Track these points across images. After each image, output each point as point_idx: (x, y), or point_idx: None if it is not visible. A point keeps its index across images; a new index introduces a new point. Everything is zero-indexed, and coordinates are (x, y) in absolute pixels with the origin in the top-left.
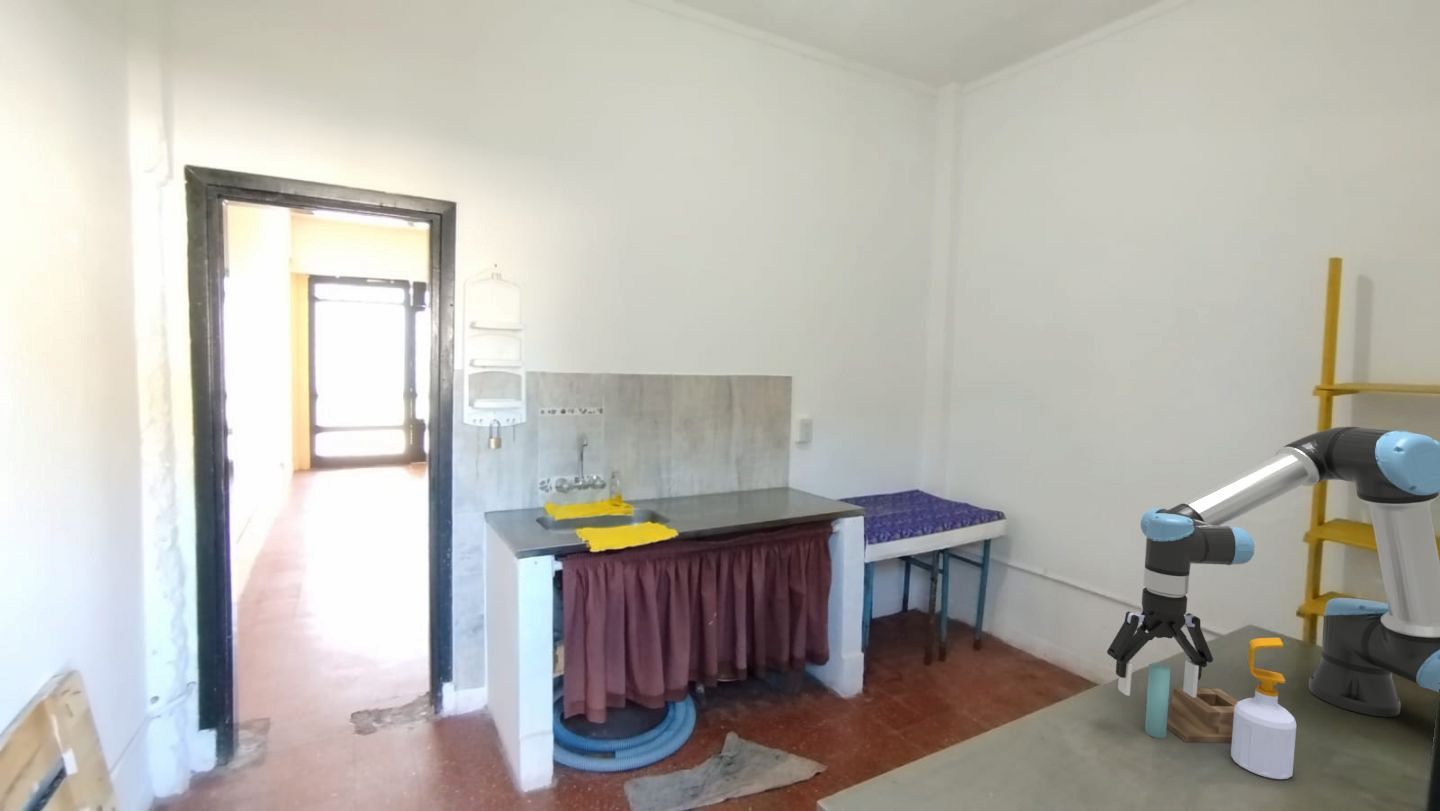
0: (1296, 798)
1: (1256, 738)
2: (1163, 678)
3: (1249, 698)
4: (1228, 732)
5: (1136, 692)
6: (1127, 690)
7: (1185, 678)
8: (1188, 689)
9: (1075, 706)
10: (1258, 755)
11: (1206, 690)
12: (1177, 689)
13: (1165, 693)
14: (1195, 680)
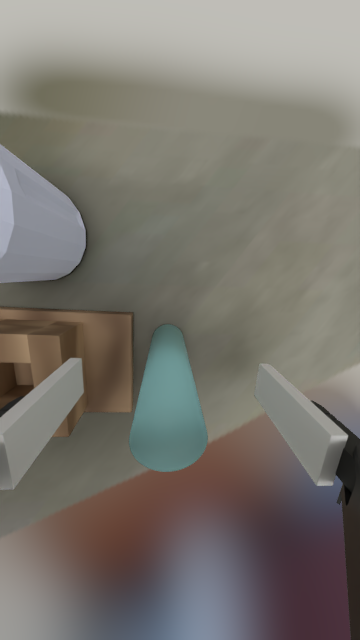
0: (48, 120)
1: (26, 169)
2: (177, 387)
3: None
4: (35, 321)
5: (108, 457)
6: (273, 371)
7: (62, 414)
8: (75, 382)
9: (244, 415)
10: (50, 184)
11: None
12: (63, 430)
13: (166, 360)
14: (45, 387)
